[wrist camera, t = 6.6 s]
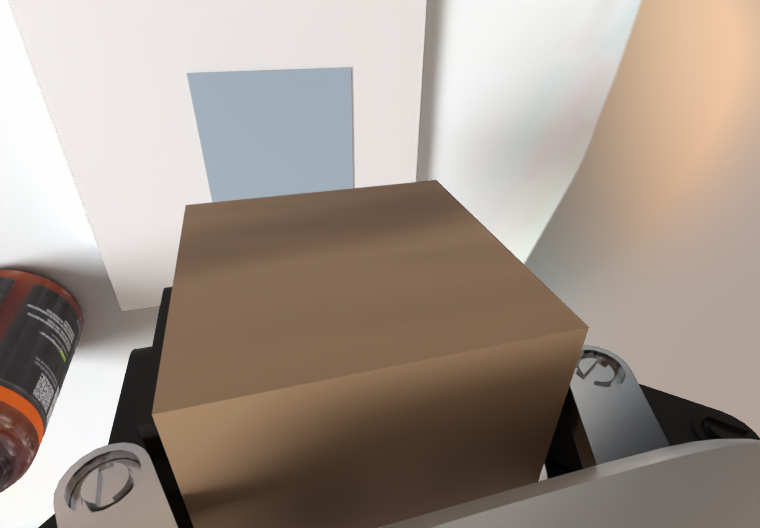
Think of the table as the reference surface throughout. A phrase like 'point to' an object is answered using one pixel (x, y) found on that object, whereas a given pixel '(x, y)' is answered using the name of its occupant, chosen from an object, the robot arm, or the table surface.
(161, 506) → the robot arm
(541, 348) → the walnut cube
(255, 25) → the plate
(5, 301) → the supplement bottle
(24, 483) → the table surface
